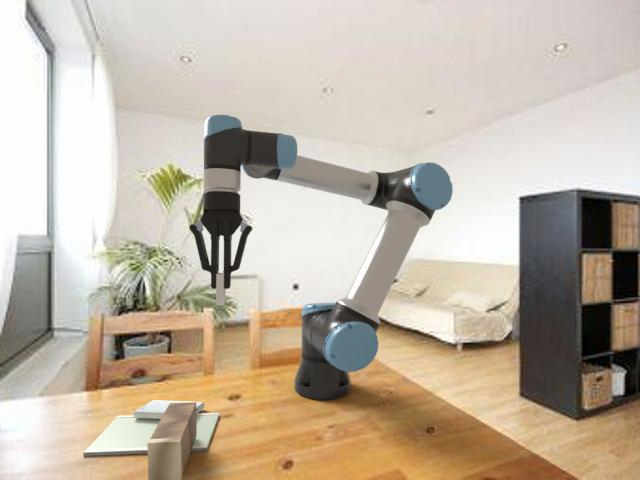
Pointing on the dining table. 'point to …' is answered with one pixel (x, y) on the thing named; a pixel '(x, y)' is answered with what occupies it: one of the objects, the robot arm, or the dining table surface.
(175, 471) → the walnut block
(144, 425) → the board
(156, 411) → the hard drive
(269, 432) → the dining table surface
